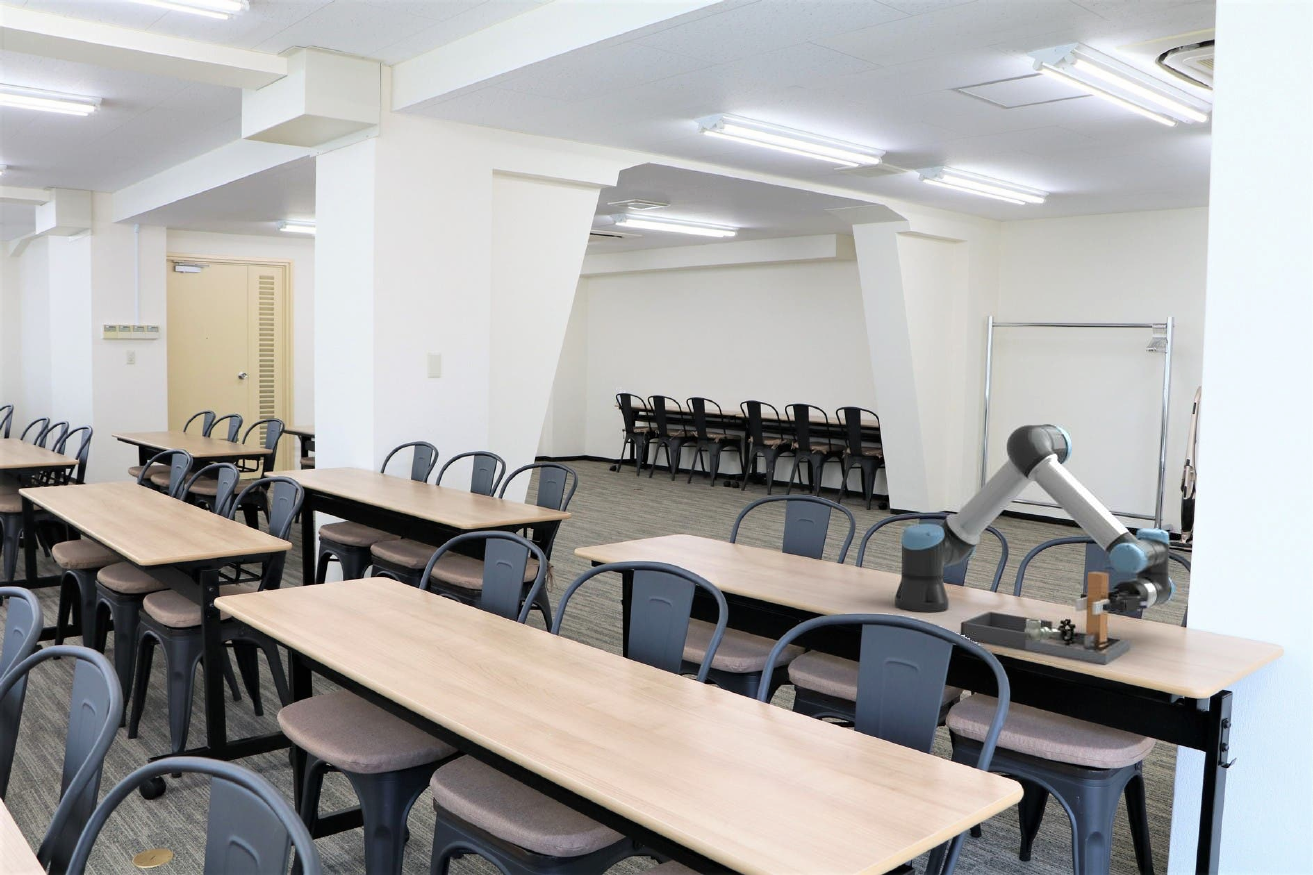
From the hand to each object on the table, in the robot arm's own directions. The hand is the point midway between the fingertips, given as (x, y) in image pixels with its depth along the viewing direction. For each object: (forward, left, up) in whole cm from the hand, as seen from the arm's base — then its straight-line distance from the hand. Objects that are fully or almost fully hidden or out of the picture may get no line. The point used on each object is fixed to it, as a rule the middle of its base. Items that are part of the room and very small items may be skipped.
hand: (1085, 607), depth 233 cm
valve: (-4, -10, -12) cm, 17 cm away
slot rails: (-5, -4, -12) cm, 14 cm away
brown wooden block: (-5, +1, -10) cm, 12 cm away
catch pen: (-5, -21, -12) cm, 25 cm away
